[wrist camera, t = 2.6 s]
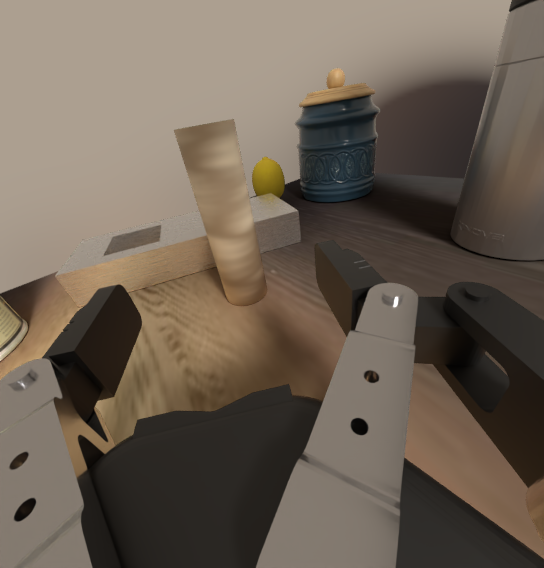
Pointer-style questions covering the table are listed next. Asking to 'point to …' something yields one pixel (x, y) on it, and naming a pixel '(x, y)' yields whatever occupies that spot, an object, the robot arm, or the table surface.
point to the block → (165, 250)
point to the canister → (337, 141)
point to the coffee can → (10, 329)
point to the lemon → (268, 178)
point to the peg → (224, 207)
